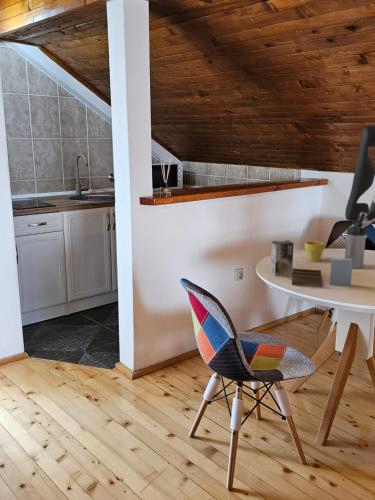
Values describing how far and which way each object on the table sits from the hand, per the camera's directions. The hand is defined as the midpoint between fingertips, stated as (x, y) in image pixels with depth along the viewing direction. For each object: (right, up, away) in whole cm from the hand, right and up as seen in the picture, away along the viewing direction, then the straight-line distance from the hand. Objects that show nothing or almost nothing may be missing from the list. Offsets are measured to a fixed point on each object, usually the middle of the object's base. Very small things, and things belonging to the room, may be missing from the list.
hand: (368, 236), depth 203 cm
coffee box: (-32, -18, +30) cm, 47 cm away
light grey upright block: (-8, -22, +13) cm, 27 cm away
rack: (-23, -21, +17) cm, 35 cm away
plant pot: (-9, -12, +55) cm, 57 cm away
